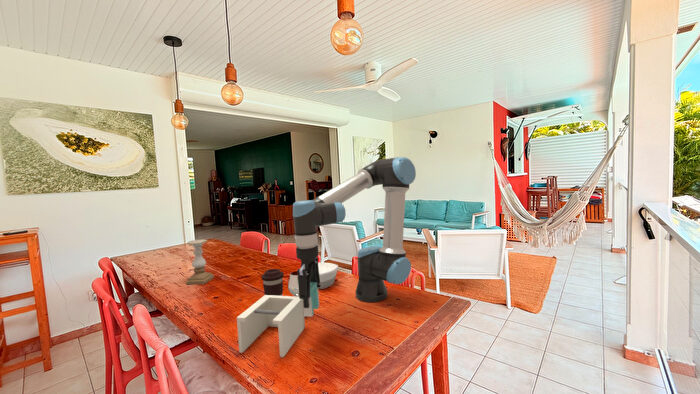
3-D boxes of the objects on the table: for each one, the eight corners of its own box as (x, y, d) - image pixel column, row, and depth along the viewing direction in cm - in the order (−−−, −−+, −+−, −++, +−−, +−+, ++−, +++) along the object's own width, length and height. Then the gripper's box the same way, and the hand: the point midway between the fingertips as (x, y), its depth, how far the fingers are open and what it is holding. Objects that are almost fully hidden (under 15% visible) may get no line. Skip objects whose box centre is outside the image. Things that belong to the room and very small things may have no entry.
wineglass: (300, 321, 111) (297, 277, 109) (285, 317, 115) (282, 274, 114) (313, 313, 117) (311, 271, 116) (299, 309, 122) (296, 268, 121)
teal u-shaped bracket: (318, 307, 99) (316, 282, 99) (312, 316, 93) (310, 289, 93) (312, 306, 100) (310, 281, 99) (305, 315, 94) (303, 289, 93)
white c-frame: (304, 327, 106) (303, 297, 105) (283, 357, 89) (281, 320, 88) (267, 324, 110) (265, 294, 109) (239, 352, 92) (236, 317, 91)
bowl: (344, 281, 152) (343, 264, 152) (324, 293, 137) (323, 275, 137) (318, 276, 162) (318, 260, 161) (297, 287, 147) (296, 270, 146)
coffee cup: (279, 307, 124) (277, 274, 123) (259, 306, 126) (257, 274, 125) (288, 298, 134) (286, 267, 133) (269, 297, 136) (267, 267, 135)
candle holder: (204, 284, 158) (201, 242, 156) (185, 285, 158) (182, 243, 157) (214, 277, 169) (211, 238, 167) (196, 278, 169) (193, 239, 168)
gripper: (307, 239, 105) (311, 297, 107) (284, 254, 86) (290, 325, 88) (325, 238, 103) (330, 298, 105) (306, 254, 85) (312, 326, 86)
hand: (312, 310), depth 97 cm, fingers closed on teal u-shaped bracket, 6 cm apart
